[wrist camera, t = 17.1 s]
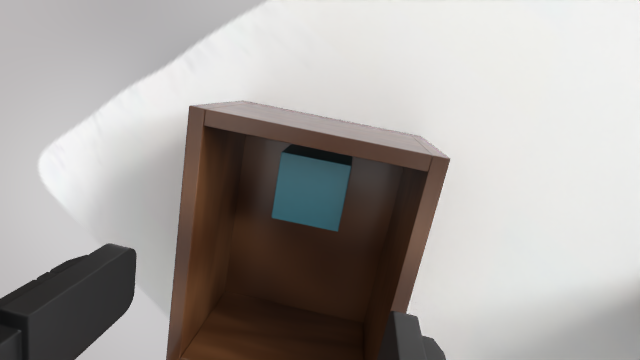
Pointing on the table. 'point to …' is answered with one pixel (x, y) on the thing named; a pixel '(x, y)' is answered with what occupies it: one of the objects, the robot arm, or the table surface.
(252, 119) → the chest
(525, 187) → the table surface
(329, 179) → the block
